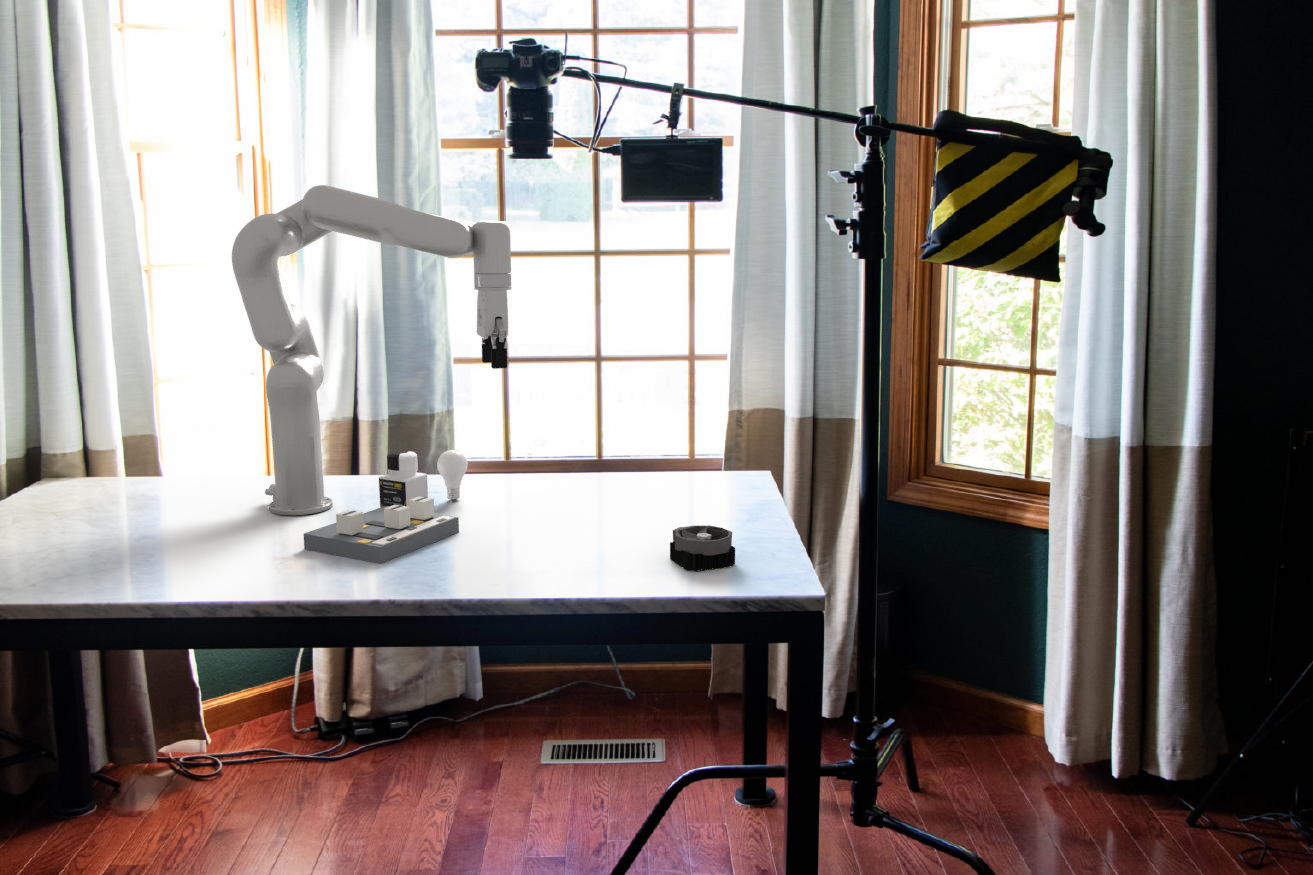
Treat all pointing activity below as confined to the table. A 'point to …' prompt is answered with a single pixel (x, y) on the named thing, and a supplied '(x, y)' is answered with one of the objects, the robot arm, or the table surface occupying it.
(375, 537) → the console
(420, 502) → the switch
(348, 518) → the switch
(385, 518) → the switch
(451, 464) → the lightbulb
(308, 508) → the robot arm
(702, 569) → the cpu cooler
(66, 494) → the table surface
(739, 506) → the table surface
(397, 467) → the medicine bottle
